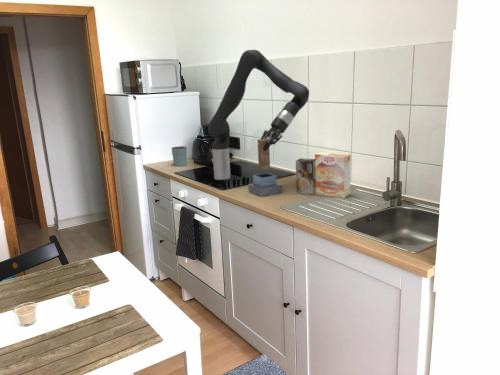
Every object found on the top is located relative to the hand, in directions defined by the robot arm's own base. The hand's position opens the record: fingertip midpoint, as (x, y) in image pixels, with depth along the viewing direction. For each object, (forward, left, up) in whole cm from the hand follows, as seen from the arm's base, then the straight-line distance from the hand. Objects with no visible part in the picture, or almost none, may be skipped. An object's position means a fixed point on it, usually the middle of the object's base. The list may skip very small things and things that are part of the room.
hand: (261, 149), depth 204 cm
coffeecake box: (+23, +24, -22) cm, 40 cm away
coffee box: (+13, +17, -22) cm, 30 cm away
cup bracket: (0, +1, -22) cm, 22 cm away
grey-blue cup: (-94, -9, -22) cm, 97 cm away
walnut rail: (0, +1, -10) cm, 10 cm away
